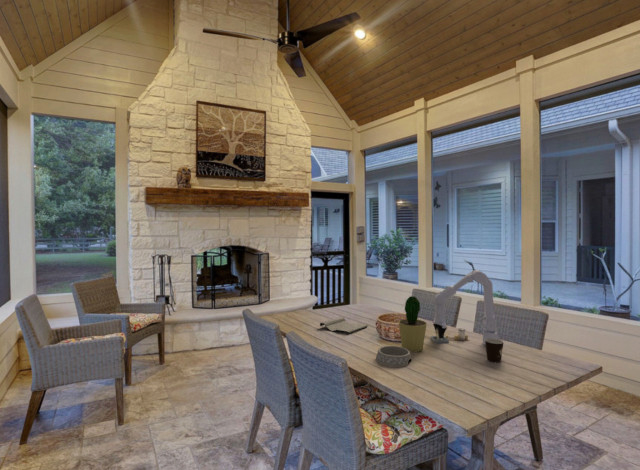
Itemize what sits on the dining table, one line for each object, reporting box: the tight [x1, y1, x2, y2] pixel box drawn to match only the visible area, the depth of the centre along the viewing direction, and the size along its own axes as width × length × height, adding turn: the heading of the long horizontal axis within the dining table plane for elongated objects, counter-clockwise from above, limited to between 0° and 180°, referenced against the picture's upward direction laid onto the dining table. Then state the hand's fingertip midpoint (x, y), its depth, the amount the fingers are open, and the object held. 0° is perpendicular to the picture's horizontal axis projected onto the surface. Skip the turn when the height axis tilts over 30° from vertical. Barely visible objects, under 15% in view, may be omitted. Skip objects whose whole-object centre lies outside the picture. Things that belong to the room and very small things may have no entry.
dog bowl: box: [375, 345, 413, 368], centre depth 194 cm, size 17×18×5 cm
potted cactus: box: [398, 296, 428, 353], centre depth 212 cm, size 15×15×30 cm
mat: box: [319, 316, 369, 334], centre depth 254 cm, size 23×24×5 cm
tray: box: [430, 335, 450, 344], centre depth 224 cm, size 8×8×2 cm
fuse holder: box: [444, 334, 471, 342], centre depth 227 cm, size 7×14×3 cm, turn 93°
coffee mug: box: [485, 339, 505, 363], centre depth 194 cm, size 12×9×10 cm
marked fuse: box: [435, 329, 444, 340], centre depth 224 cm, size 4×4×6 cm
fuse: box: [457, 327, 466, 340], centre depth 227 cm, size 4×4×6 cm
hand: (439, 337), depth 224 cm, fingers closed on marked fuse, 4 cm apart
